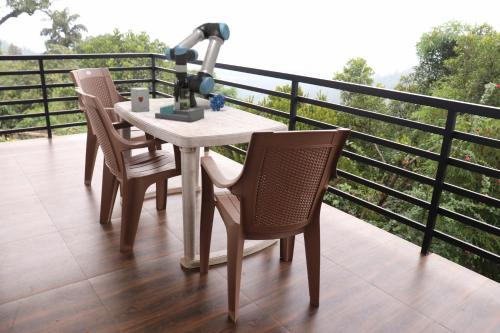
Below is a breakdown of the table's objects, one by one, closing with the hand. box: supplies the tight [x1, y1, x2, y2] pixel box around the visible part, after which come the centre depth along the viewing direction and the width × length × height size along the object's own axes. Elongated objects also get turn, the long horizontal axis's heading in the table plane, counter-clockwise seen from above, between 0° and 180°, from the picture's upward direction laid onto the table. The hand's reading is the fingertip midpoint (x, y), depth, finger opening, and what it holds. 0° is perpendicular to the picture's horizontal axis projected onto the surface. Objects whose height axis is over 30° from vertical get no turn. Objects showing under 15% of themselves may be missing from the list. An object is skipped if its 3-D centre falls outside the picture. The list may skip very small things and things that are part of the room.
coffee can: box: [173, 88, 191, 111], centre depth 271 cm, size 10×10×14 cm
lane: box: [154, 106, 205, 123], centre depth 254 cm, size 25×17×7 cm
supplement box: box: [130, 87, 150, 113], centre depth 273 cm, size 9×9×15 cm
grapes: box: [209, 93, 227, 112], centre depth 284 cm, size 12×7×12 cm, turn 113°
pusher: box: [159, 104, 175, 115], centre depth 257 cm, size 2×13×6 cm, turn 158°
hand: (182, 105), depth 272 cm, fingers closed on coffee can, 10 cm apart
